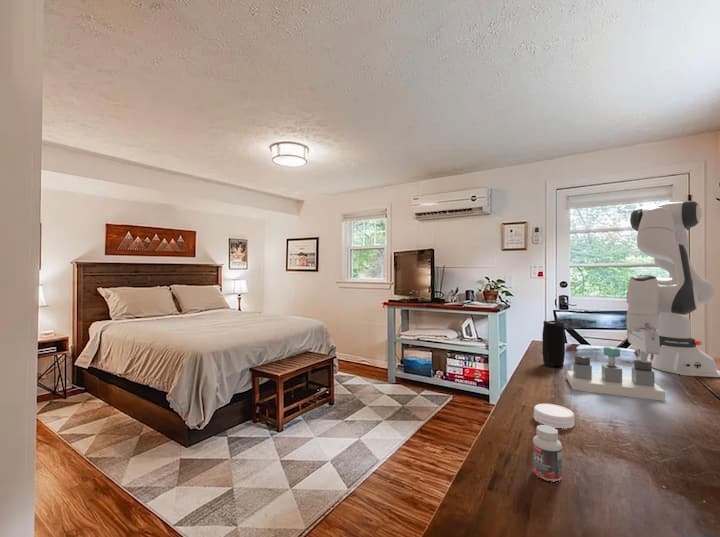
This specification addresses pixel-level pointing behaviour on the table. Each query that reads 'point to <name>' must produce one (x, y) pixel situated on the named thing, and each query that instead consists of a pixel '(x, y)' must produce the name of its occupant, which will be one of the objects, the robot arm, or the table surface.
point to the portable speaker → (553, 343)
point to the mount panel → (615, 382)
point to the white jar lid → (554, 416)
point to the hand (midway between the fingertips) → (642, 361)
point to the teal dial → (611, 355)
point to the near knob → (642, 365)
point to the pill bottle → (547, 453)
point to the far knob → (582, 360)
